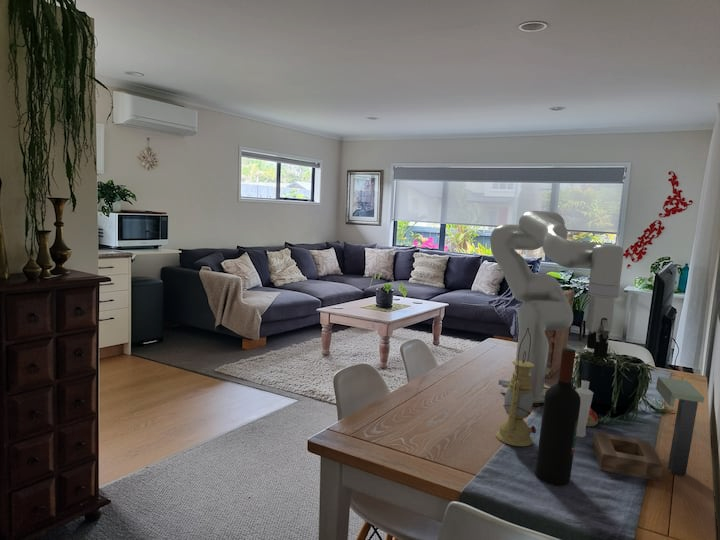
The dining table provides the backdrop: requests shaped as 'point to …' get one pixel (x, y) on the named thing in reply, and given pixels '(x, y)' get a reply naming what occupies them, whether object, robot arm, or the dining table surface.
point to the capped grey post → (680, 419)
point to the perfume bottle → (583, 407)
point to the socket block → (627, 456)
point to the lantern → (518, 405)
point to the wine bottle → (559, 426)
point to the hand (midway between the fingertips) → (596, 352)
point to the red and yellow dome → (592, 419)
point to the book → (557, 343)
